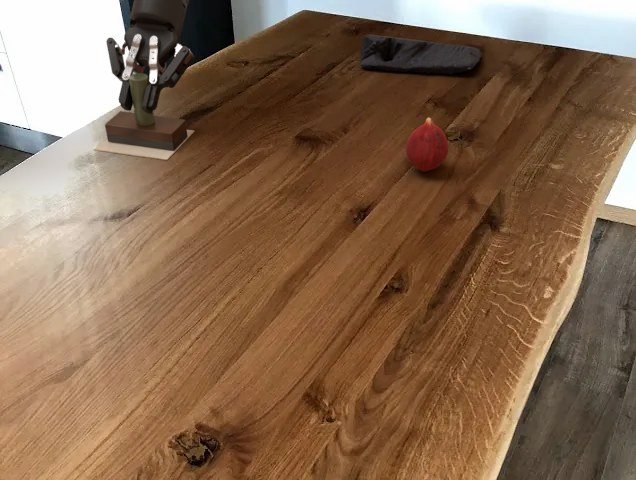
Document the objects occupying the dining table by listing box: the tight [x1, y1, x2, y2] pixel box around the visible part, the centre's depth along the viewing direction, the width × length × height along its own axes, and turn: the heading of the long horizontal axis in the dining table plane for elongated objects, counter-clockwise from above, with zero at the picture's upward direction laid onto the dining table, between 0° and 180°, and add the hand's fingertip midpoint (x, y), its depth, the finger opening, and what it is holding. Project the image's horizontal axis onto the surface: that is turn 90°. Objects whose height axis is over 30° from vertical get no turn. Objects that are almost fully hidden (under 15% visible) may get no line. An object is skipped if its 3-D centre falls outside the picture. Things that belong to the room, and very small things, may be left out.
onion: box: [405, 117, 449, 173], centre depth 102 cm, size 6×6×8 cm
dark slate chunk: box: [359, 34, 482, 75], centre depth 136 cm, size 15×22×5 cm
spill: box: [93, 129, 195, 161], centre depth 112 cm, size 12×10×1 cm
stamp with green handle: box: [104, 72, 188, 151], centre depth 109 cm, size 11×5×10 cm, turn 74°
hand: (136, 109), depth 107 cm, fingers closed on stamp with green handle, 3 cm apart
